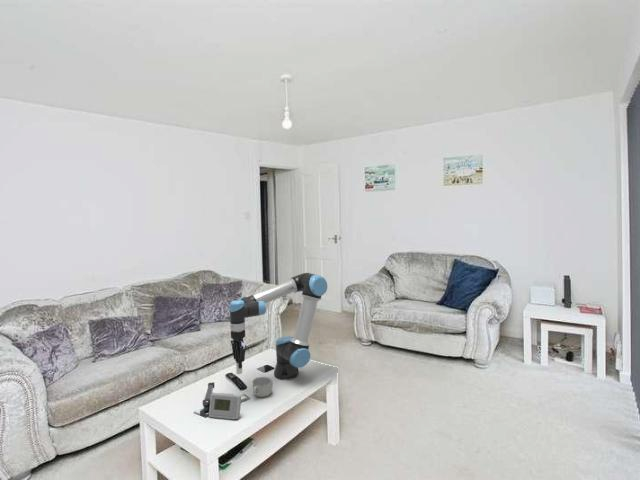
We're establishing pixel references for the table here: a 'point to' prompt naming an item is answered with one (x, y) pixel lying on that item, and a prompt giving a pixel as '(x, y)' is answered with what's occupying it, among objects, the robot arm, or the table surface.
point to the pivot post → (205, 411)
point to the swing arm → (208, 394)
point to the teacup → (262, 386)
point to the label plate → (244, 397)
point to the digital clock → (225, 406)
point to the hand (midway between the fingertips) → (239, 373)
